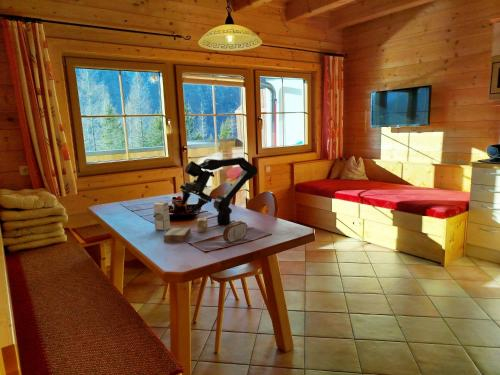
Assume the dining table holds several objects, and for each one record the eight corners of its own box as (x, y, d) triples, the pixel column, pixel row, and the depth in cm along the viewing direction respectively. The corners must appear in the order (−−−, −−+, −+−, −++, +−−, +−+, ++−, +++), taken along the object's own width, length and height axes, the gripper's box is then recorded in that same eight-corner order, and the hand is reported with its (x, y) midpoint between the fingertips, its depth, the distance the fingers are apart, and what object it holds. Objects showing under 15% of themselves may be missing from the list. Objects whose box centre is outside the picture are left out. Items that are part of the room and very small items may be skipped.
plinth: (190, 233, 173) (190, 227, 173) (185, 241, 162) (184, 235, 161) (171, 234, 174) (170, 227, 173) (164, 241, 162) (163, 235, 162)
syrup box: (170, 227, 185) (168, 201, 182) (164, 230, 179) (162, 203, 177) (161, 226, 187) (159, 201, 184) (155, 230, 181) (153, 203, 179)
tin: (243, 235, 169) (243, 218, 167) (248, 236, 167) (248, 219, 165) (222, 243, 158) (221, 226, 156) (227, 245, 156) (227, 227, 154)
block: (207, 229, 181) (207, 218, 180) (206, 231, 177) (205, 220, 176) (199, 229, 181) (198, 218, 180) (197, 231, 177) (196, 220, 176)
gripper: (180, 170, 178) (166, 197, 176) (206, 181, 168) (192, 210, 167) (192, 177, 187) (180, 203, 186) (218, 188, 178) (205, 215, 176)
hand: (188, 207), depth 178 cm, fingers open, 9 cm apart
